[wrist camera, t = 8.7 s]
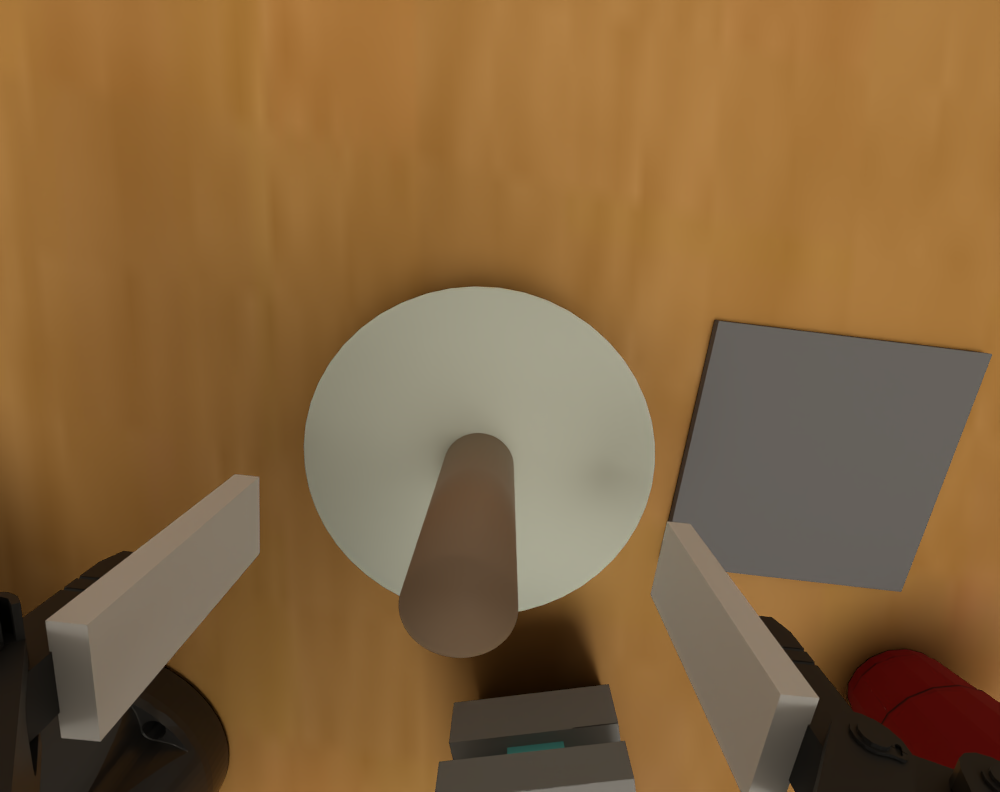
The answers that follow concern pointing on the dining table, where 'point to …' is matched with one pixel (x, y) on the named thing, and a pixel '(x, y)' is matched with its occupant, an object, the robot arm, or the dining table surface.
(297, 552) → the dining table surface
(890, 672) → the plastic cup
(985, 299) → the dining table surface
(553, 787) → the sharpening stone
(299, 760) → the dining table surface
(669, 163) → the dining table surface
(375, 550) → the lid
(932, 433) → the mat
